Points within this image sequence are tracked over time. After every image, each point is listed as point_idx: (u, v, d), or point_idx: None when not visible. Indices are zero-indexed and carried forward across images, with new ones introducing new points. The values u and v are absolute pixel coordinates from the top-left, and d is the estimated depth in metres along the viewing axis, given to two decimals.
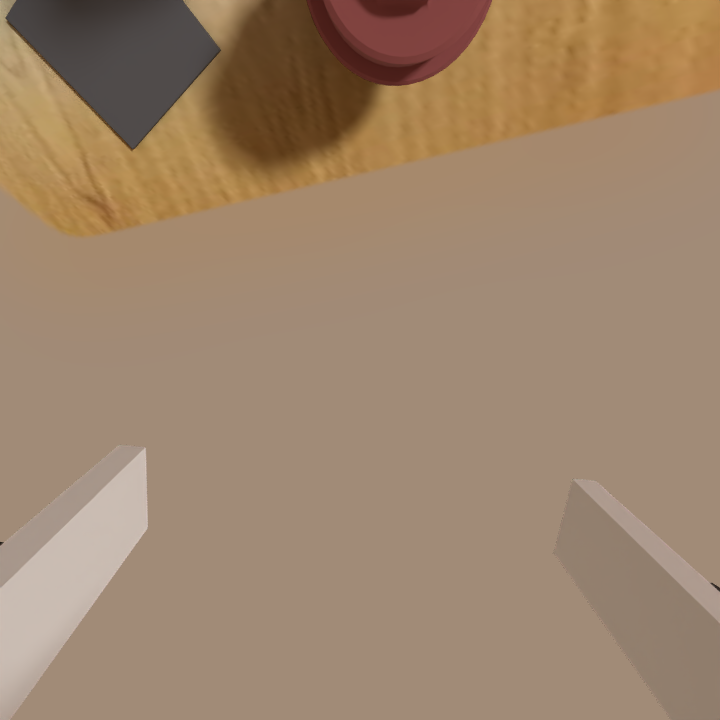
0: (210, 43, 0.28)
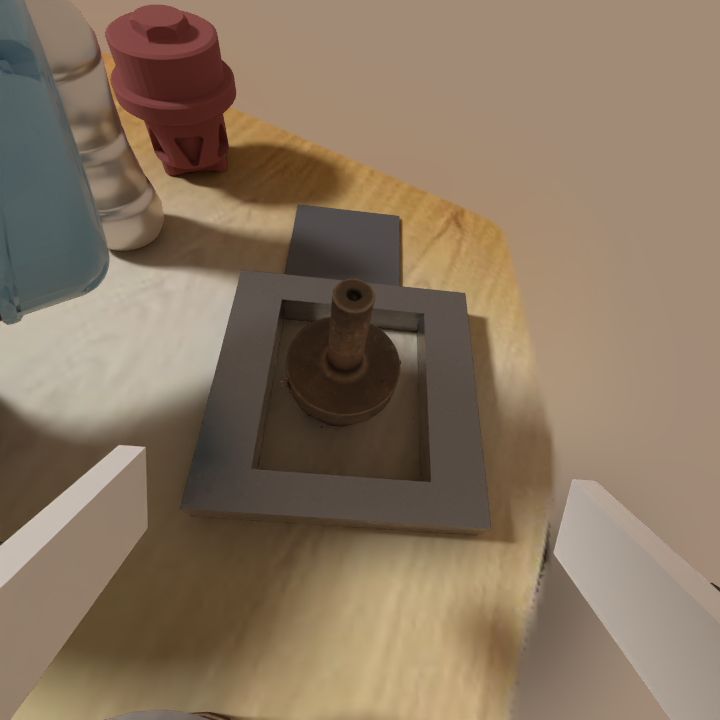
0: (299, 209, 0.40)
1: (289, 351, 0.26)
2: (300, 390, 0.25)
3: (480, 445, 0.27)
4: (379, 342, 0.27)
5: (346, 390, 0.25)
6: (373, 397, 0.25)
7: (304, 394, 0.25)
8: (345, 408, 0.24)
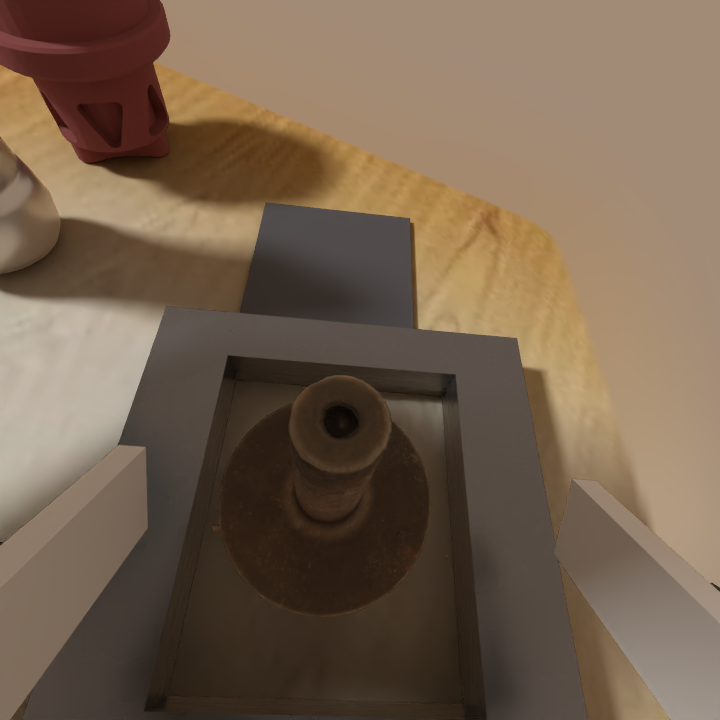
0: (268, 209, 0.28)
1: (226, 475, 0.14)
2: (242, 562, 0.13)
3: (568, 629, 0.15)
4: (392, 449, 0.15)
5: (332, 557, 0.13)
6: (382, 571, 0.13)
7: (250, 571, 0.13)
8: (329, 600, 0.13)
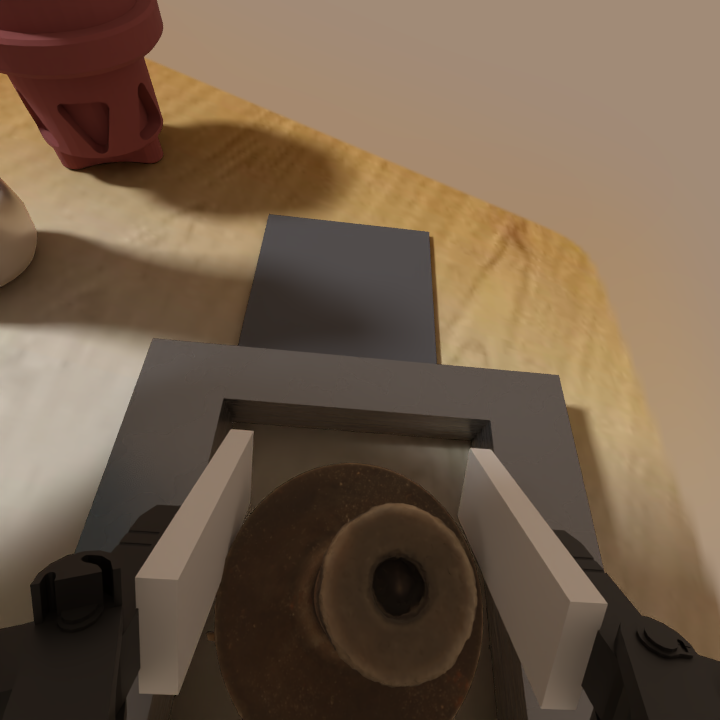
0: (271, 221, 0.25)
1: (225, 571, 0.11)
2: (244, 698, 0.10)
3: None
4: None
5: (361, 688, 0.10)
6: (426, 707, 0.10)
7: (254, 711, 0.10)
8: None
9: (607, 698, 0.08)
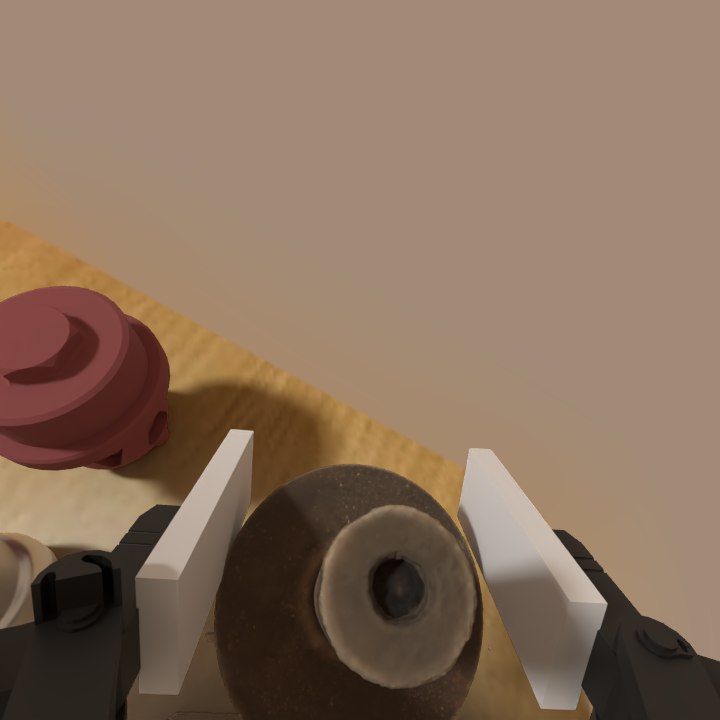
0: None
1: (225, 572, 0.11)
2: (244, 699, 0.10)
3: None
4: None
5: (361, 689, 0.10)
6: (426, 708, 0.10)
7: (254, 712, 0.10)
8: None
9: (607, 698, 0.08)
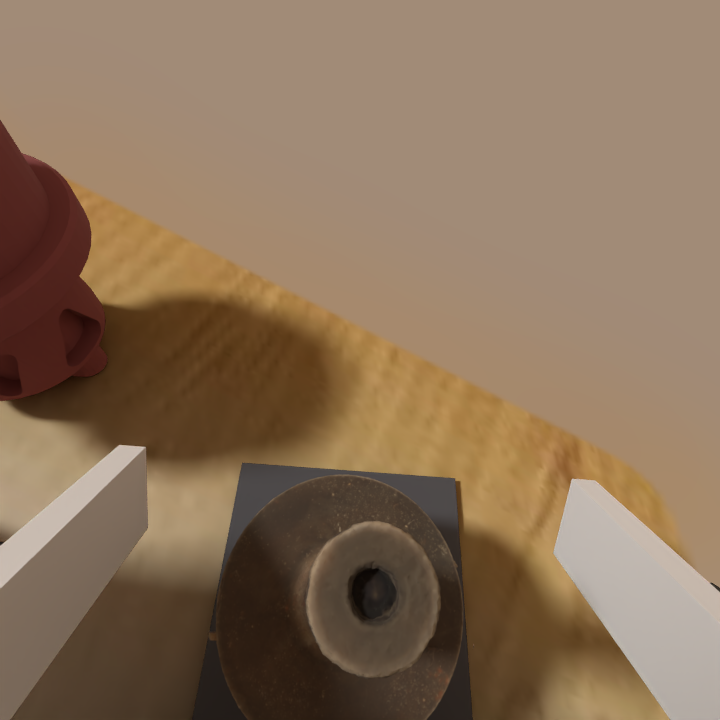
0: (245, 476, 0.19)
1: (225, 576, 0.12)
2: (243, 692, 0.11)
3: None
4: (417, 540, 0.13)
5: (350, 683, 0.11)
6: (408, 700, 0.11)
7: (252, 704, 0.11)
8: None
9: None
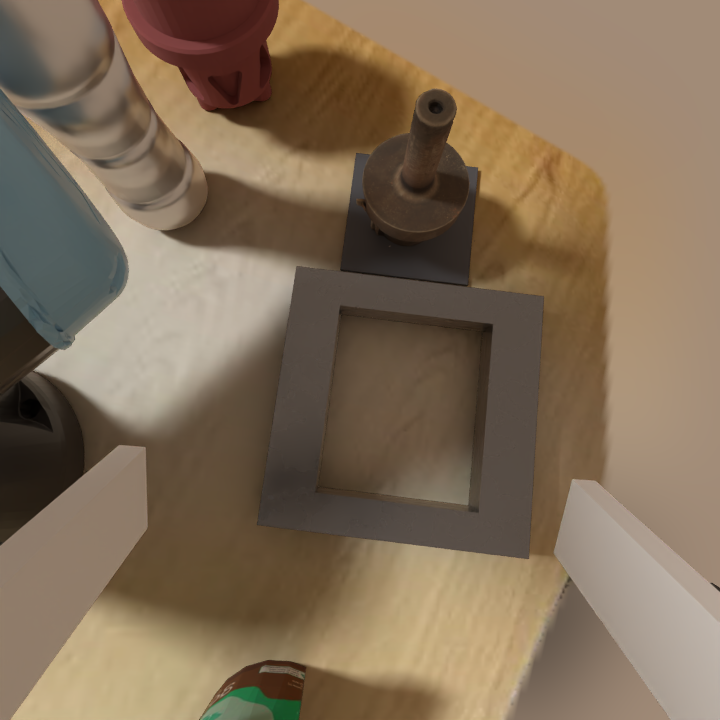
0: (358, 160, 0.34)
1: (365, 169, 0.28)
2: (375, 208, 0.27)
3: (531, 479, 0.28)
4: (451, 162, 0.28)
5: (417, 209, 0.27)
6: (441, 216, 0.27)
7: (379, 212, 0.27)
8: (415, 226, 0.27)
9: None
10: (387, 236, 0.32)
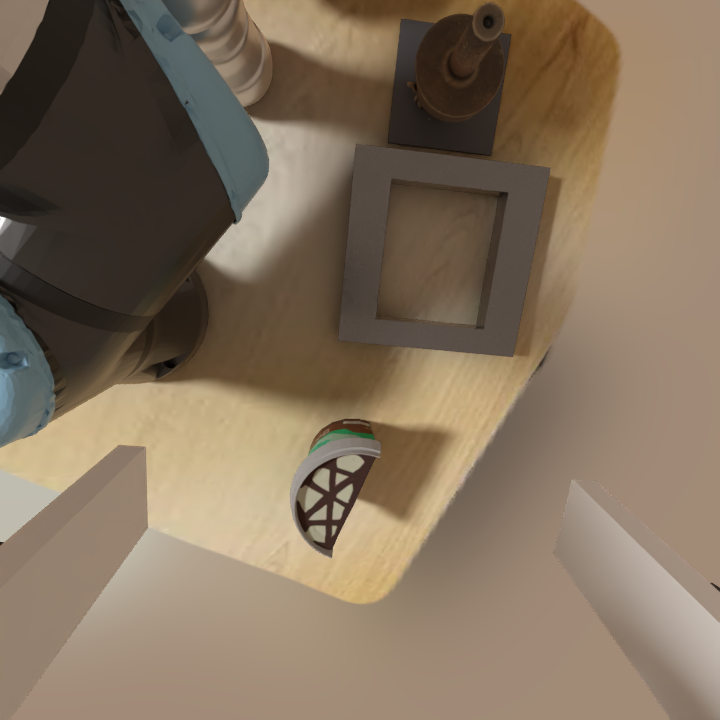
0: (403, 27, 0.37)
1: (417, 55, 0.33)
2: (425, 94, 0.33)
3: (521, 307, 0.41)
4: (491, 46, 0.33)
5: (459, 95, 0.33)
6: (478, 102, 0.34)
7: (428, 98, 0.33)
8: (457, 111, 0.34)
9: None
10: None
